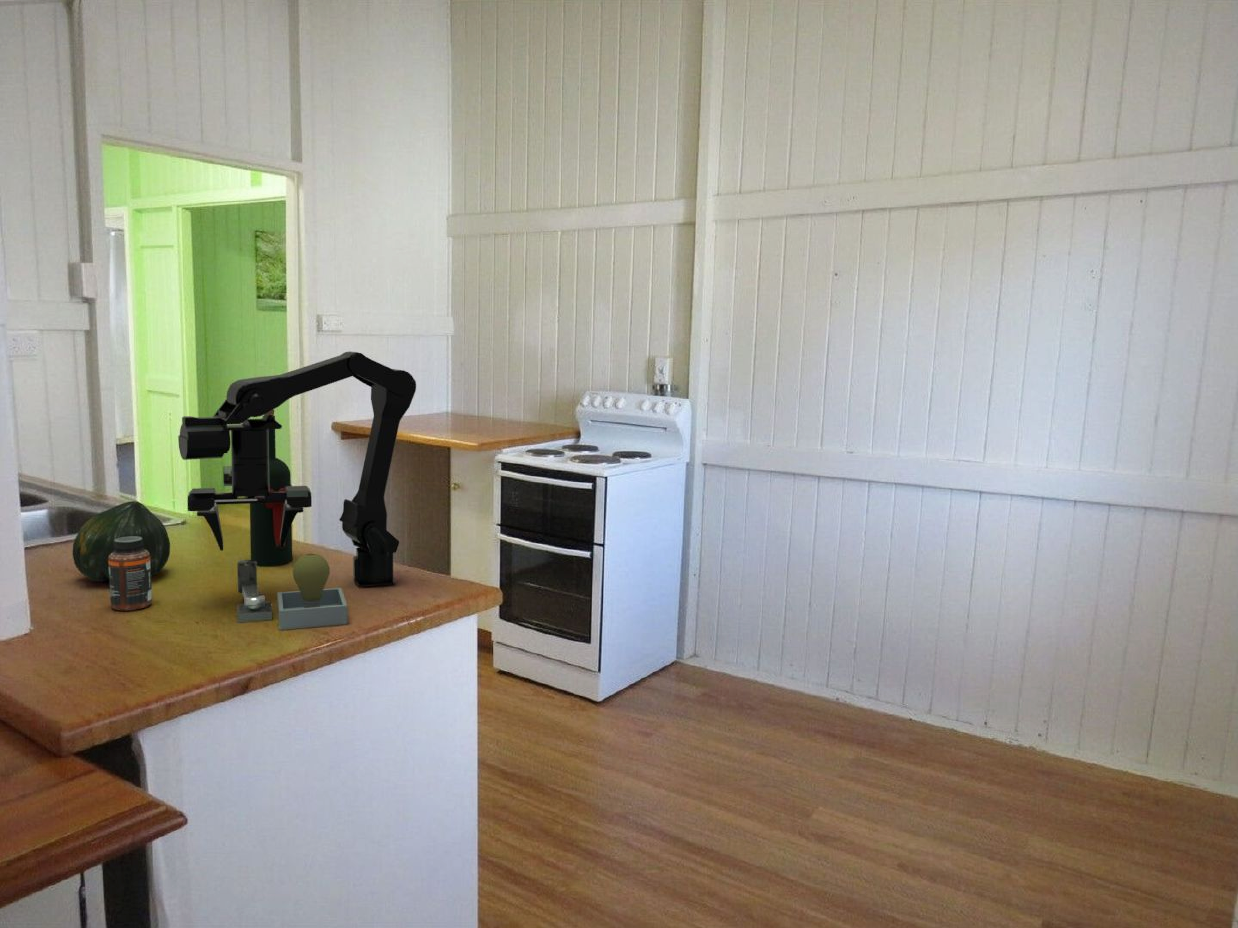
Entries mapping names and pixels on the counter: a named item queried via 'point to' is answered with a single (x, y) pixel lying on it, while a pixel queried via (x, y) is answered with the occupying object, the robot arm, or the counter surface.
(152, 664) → the counter surface
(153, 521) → the squash
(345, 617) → the tray
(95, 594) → the counter surface
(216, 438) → the robot arm
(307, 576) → the light bulb
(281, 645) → the counter surface
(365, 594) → the counter surface
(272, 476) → the wine bottle
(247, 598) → the crank
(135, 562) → the supplement bottle
